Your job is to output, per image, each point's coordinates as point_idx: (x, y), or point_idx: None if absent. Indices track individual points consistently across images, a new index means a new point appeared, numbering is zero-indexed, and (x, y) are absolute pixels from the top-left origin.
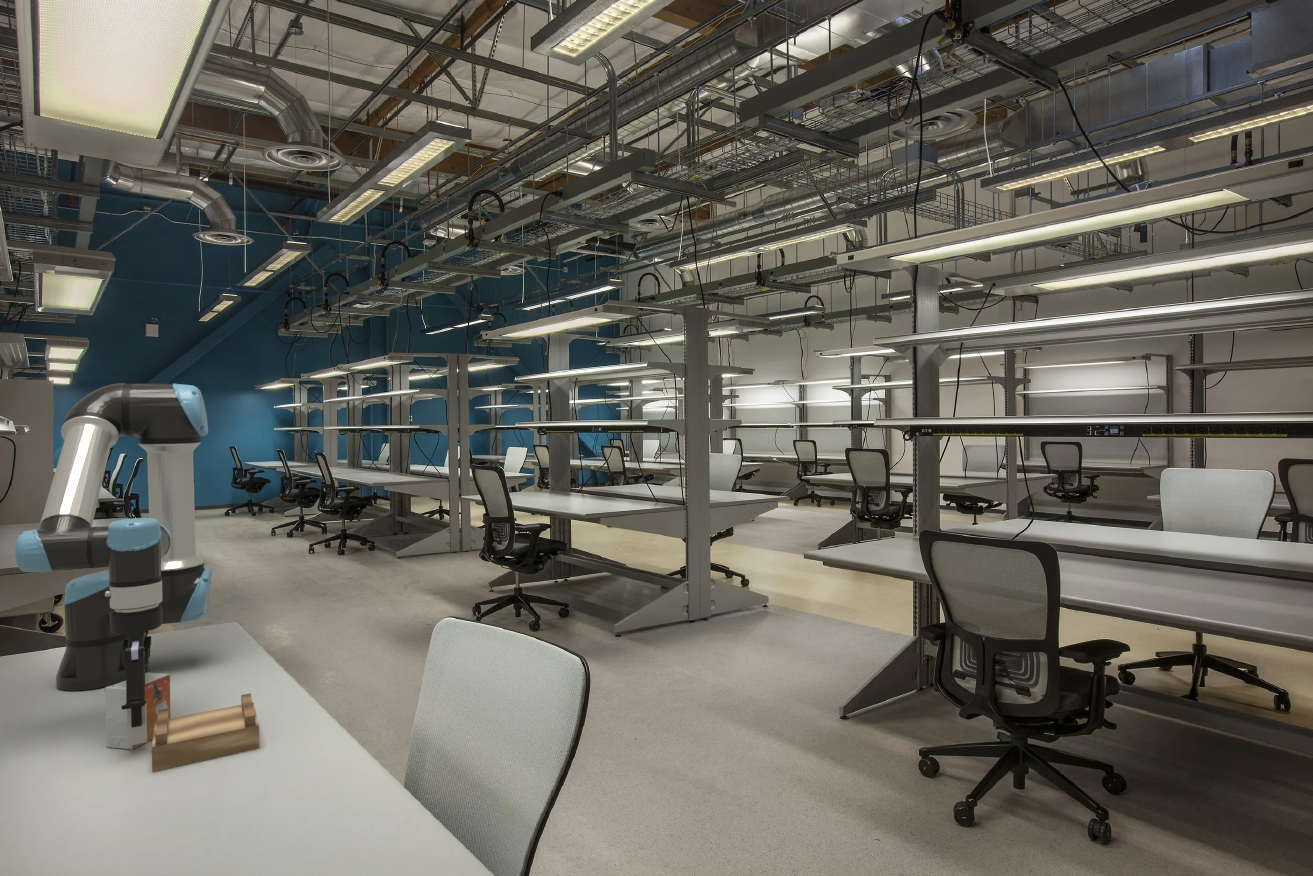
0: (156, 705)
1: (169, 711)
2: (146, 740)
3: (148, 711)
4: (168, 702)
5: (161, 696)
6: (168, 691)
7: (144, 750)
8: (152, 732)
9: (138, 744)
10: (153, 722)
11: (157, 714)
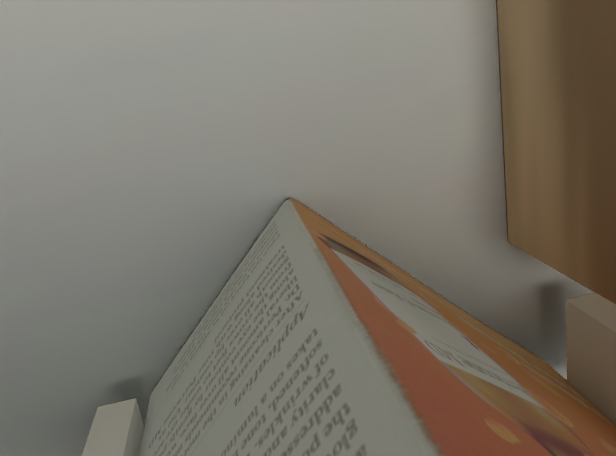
0: (551, 415)
1: (330, 257)
2: (610, 302)
3: (604, 445)
4: (370, 310)
5: (550, 444)
6: (446, 403)
7: (577, 285)
8: (448, 306)
9: (519, 346)
10: (477, 338)
11: (470, 346)
